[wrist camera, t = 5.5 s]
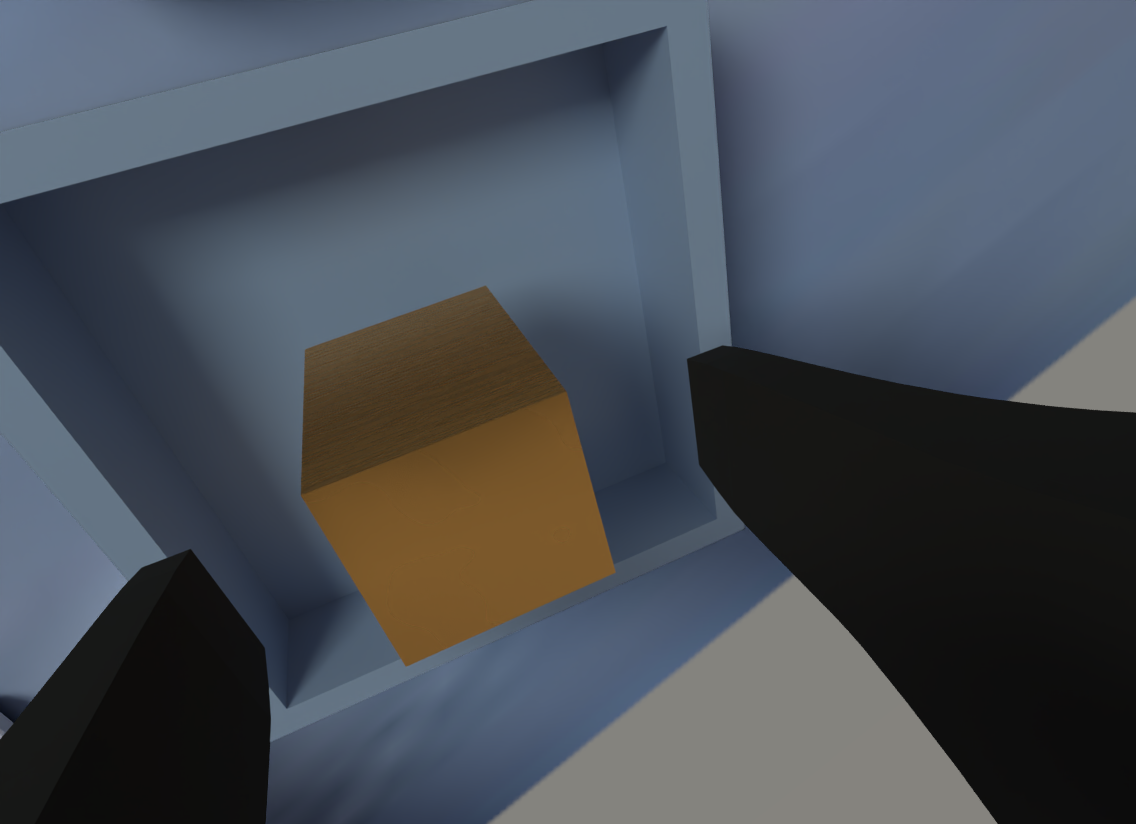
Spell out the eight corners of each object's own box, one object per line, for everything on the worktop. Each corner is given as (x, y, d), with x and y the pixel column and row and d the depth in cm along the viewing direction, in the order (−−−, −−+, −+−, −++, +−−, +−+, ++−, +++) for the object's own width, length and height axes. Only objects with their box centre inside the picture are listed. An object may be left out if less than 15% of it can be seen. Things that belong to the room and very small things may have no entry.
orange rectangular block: (369, 430, 13) (405, 666, 8) (306, 301, 12) (301, 495, 7) (502, 380, 14) (616, 572, 9) (458, 250, 12) (566, 391, 7)
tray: (273, 634, 16) (267, 743, 13) (-79, 150, 9) (-214, 184, 7) (682, 463, 18) (744, 528, 15) (618, -21, 12) (704, -43, 9)
